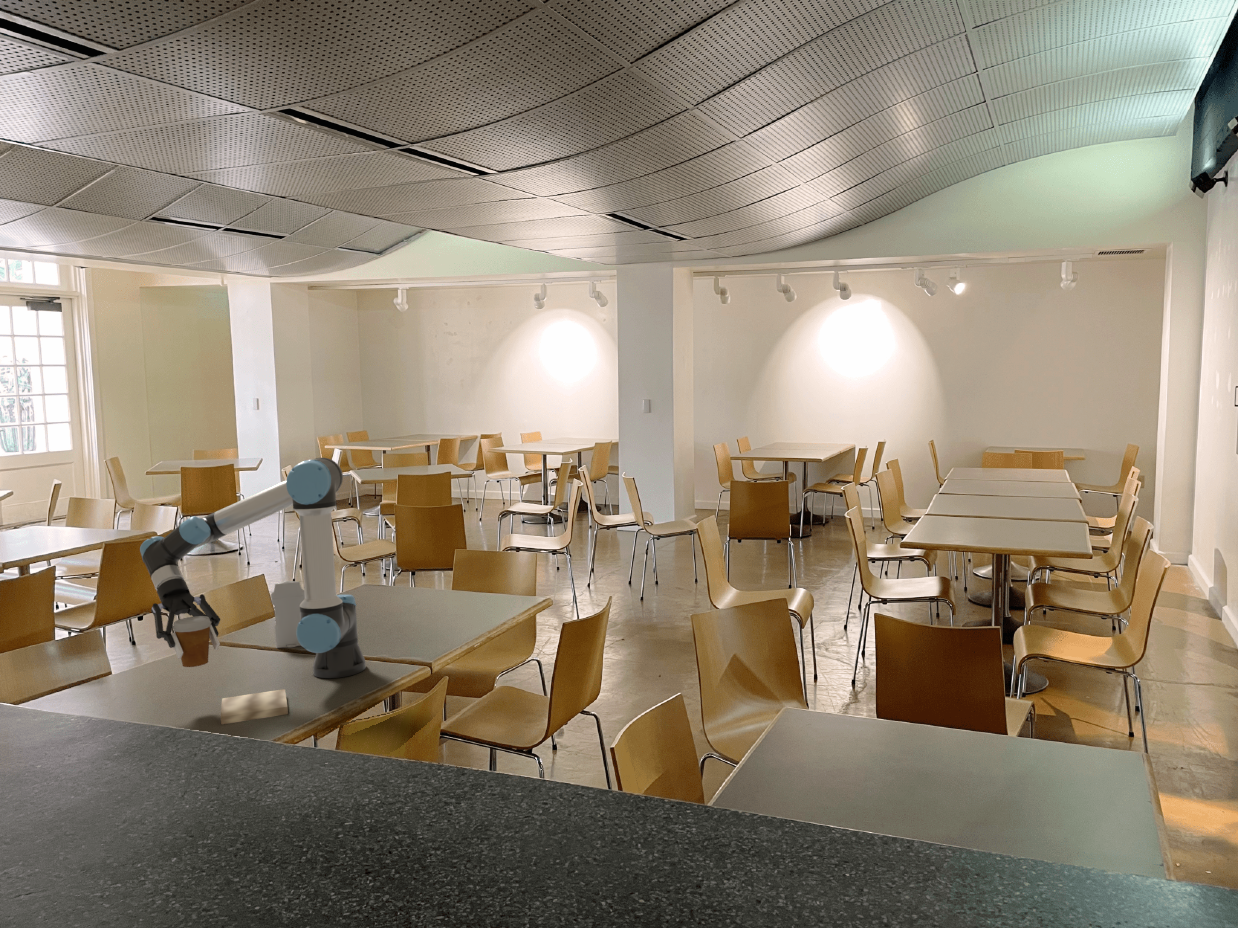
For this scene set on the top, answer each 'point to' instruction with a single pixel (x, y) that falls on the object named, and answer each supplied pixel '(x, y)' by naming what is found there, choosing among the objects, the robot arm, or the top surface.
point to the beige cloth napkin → (253, 706)
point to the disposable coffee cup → (193, 639)
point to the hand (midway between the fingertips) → (199, 651)
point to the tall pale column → (287, 612)
